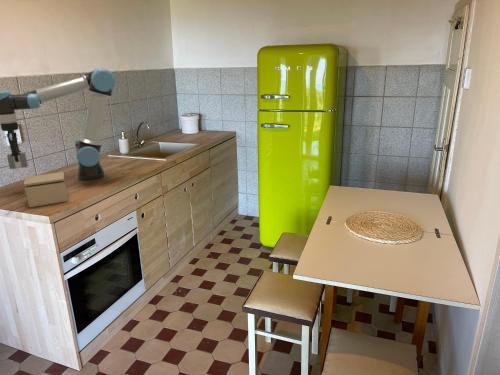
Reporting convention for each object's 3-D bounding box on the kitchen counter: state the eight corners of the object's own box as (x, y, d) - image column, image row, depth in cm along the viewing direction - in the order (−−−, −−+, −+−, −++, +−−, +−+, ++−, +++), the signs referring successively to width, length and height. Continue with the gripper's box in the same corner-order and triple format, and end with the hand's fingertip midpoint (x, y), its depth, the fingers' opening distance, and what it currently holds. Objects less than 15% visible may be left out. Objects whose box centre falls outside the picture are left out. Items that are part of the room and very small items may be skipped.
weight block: (28, 164, 203) (25, 152, 201) (27, 166, 199) (24, 154, 197) (10, 166, 200) (7, 154, 198) (10, 169, 196) (6, 156, 193)
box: (66, 191, 201) (63, 174, 198) (68, 201, 188) (64, 182, 185) (30, 197, 194) (26, 179, 191) (29, 207, 181) (24, 187, 177)
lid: (63, 173, 198) (63, 171, 198) (64, 180, 184) (64, 178, 184) (26, 178, 191) (25, 176, 191) (23, 186, 177) (23, 184, 176)
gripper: (2, 120, 198) (12, 163, 205) (-2, 125, 182) (9, 171, 190) (18, 119, 201) (28, 161, 208) (15, 123, 186) (26, 169, 193)
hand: (19, 166), depth 199 cm, fingers closed on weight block, 5 cm apart
